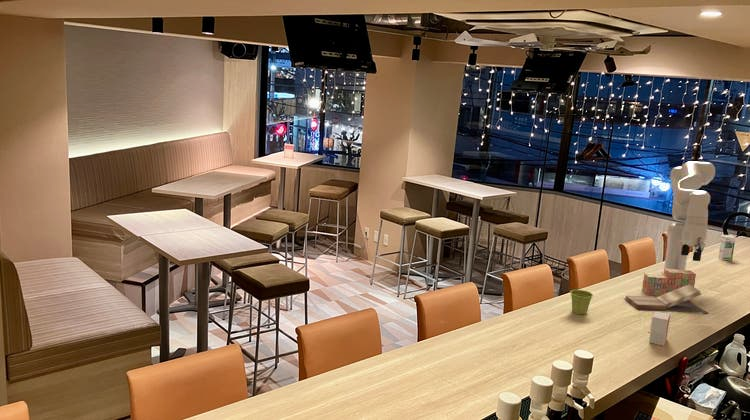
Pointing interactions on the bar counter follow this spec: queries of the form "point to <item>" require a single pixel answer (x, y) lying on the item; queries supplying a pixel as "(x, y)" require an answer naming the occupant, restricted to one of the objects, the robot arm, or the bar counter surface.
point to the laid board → (646, 302)
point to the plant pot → (580, 301)
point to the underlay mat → (680, 308)
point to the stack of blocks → (667, 281)
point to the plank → (679, 295)
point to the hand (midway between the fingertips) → (690, 257)
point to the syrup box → (726, 247)
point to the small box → (659, 328)
